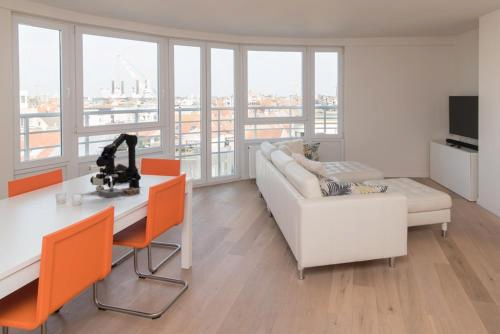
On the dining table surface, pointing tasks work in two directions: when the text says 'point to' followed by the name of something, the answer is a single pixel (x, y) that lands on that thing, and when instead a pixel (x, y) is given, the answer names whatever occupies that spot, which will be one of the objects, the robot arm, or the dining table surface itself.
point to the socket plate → (111, 192)
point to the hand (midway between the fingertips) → (111, 187)
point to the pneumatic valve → (98, 182)
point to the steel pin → (111, 186)
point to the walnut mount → (131, 191)
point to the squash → (123, 168)
